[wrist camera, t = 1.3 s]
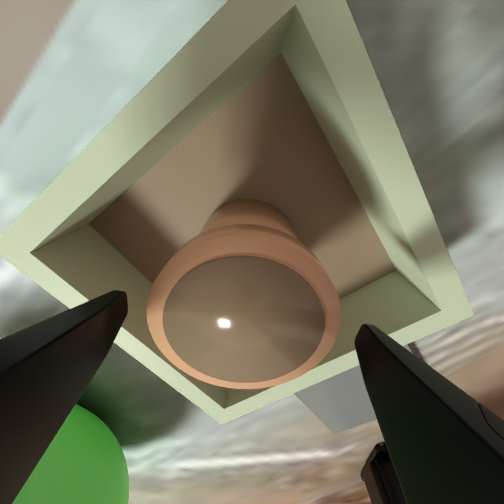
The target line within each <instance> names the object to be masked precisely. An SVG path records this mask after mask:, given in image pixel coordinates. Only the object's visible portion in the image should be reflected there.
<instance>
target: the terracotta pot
mask: <svg viewBox="0 0 504 504" xmlns="http://www.w3.org/2000/svg"><path fill="white" fill-rule="evenodd" d="M146 313H147V322H148V327H149V331H150V333H151V335H152V338H153V340H154V342H155V343H156V345H157V347H158V348H159V350H160V351H161V352H162V353H163V355H164V356H165V357H166V358H167V359H168V360H169V361H170V362H171V363H172V364H174V365H175V366H176V367H178V368H179V369H180V370H182V371H183V372H185V373H187V374H188V375H190V376H192V377H194V378H196V379H198V380H201V381H204V382H206V383H209V384H213V385H216V386H221V387H226V388H234V389H259V388H266V387H272V386H276V385H280V384H283V383H286V382H289V381H291V380H293V379H296V378H298V377H300V376H302V375H303V374H305V373H307V372H308V371H310V370H311V369H312V368H314V367H315V366H316V365H317V364H318V363H319V362H320V361H321V360H323V359H324V357H325V356H326V355H327V354H328V352H329V351H330V350H331V348H332V346H333V345H334V343H335V341H336V338H337V336H338V333H339V329H340V325H341V305H340V300H339V297H338V294H337V291H336V289H335V287H334V285H333V283H332V281H331V279H330V278H329V276H328V274H327V272H326V270H325V269H324V267H323V265H322V263H321V262H320V261H319V259H318V258H317V256H316V255H315V254H314V253H313V252H312V251H311V250H310V249H309V248H308V247H307V246H306V245H304V244H303V243H302V242H300V240H299V238H298V236H297V234H296V232H295V230H294V227H293V225H292V224H291V222H290V220H289V219H288V218H287V216H286V215H285V214H284V213H283V212H281V211H280V210H279V209H278V208H276V207H274V206H273V205H271V204H268V203H266V202H263V201H259V200H253V199H244V200H237V201H233V202H230V203H228V204H225V205H223V206H222V207H220V208H219V209H217V210H216V211H215V212H214V213H213V214H212V215H211V216H210V217H209V218H208V220H207V221H206V223H205V224H204V226H203V227H202V229H201V231H200V232H199V234H198V235H197V236H195V237H193V238H192V239H190V240H189V241H187V242H186V243H185V244H183V245H182V246H181V247H180V248H179V249H178V250H177V251H176V252H175V253H174V254H173V256H172V257H171V258H170V260H169V261H168V263H167V264H166V265H165V267H164V268H163V269H162V271H161V272H160V274H159V275H158V276H157V278H156V279H155V281H154V283H153V285H152V287H151V289H150V293H149V296H148V300H147V309H146Z"/></svg>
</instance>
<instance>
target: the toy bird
mask: <svg viewBox="0 0 504 504" xmlns="http://www.w3.org/2000/svg"><path fill="white" fill-rule="evenodd" d="M128 498H129V477H128V469H127V464H126V460H125V457H124V454H123V451H122V449H121V446H120V444H119V442H118V441H117V439H116V437H115V436H114V434H113V433H112V431H111V430H110V429H109V428H108V427H107V425H106V424H105V423H104V422H103V421H102V420H100V419H99V418H98V417H97V416H96V415H94V414H93V413H91V412H90V411H88V410H87V409H85V408H83V407H81V406H80V405H78V404H75V406H74V408H73V409H72V411H71V412H70V414H69V415H68V417H67V419H66V420H65V422H64V423H63V425H62V426H61V428H60V430H59V431H58V433H57V434H56V436H55V437H54V439H53V441H52V442H51V444H50V445H49V447H48V448H47V450H46V452H45V453H44V455H43V456H42V458H41V459H40V461H39V463H38V464H37V466H36V467H35V469H34V470H33V472H32V474H31V475H30V477H29V478H28V480H27V481H26V483H25V485H24V486H23V488H22V489H21V491H20V492H19V494H18V495H17V497H16V499H15V500H14V502H13V503H12V504H128Z"/></svg>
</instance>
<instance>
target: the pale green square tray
mask: <svg viewBox="0 0 504 504" xmlns="http://www.w3.org/2000/svg"><path fill="white" fill-rule="evenodd" d="M244 199H253V200H259V201H263V202H266V203H268V204H271V205H273V206H274V207H276V208H278V209H279V210H280V211H281V212H283V213H284V214H285V215H286V216H287V218H288V219H289V220H290V222H291V224H292V225H293V227H294V230H295V232H296V234H297V236H298V238H299V240H300V242H302V243H303V244H304V245H306V246H307V247H308V248H309V249H310V250H311V251H312V252H313V253H314V254H315V255H316V256H317V258H318V259H319V261H320V262H321V263H322V265H323V267H324V269H325V270H326V272H327V274H328V276H329V278H330V279H331V281H332V283H333V285H334V287H335V289H336V291H337V294H338V297H339V300H340V305H341V325H340V329H339V333H338V336H337V338H336V341H335V343H334V345H333V346H332V348H331V350H330V351H329V352H328V354H327V355H326V356H325V357H324V359H323V360H321V361H320V362H319V363H318V364H317V365H316V366H315V367H314V368H312V369H311V370H310V371H308V372H307V373H305V374H303V375H302V376H300V377H298V378H296V379H293V380H291V381H289V382H286V383H283V384H280V385H276V386H272V387H266V388H259V389H234V388H226V387H221V386H216V385H213V384H209V383H206V382H204V381H201V380H198V379H196V378H194V377H192V376H190V375H188V374H187V373H185V372H183V371H182V370H180V369H179V368H178V367H176V366H175V365H174V364H172V363H171V362H170V361H169V360H168V359H167V358H166V357H165V356H164V355H163V353H162V352H161V351H160V350H159V348H158V347H157V345H156V343H155V342H154V340H153V338H152V335H151V333H150V331H149V327H148V322H147V313H146V309H147V300H148V296H149V293H150V289H151V287H152V285H153V283H154V281H155V279H156V278H157V276H158V275H159V274H160V272H161V271H162V269H163V268H164V267H165V265H166V264H167V263H168V261H169V260H170V258H171V257H172V256H173V254H174V253H175V252H176V251H177V250H178V249H179V248H180V247H181V246H182V245H183V244H185V243H186V242H187V241H189V240H190V239H192V238H193V237H195V236H197V235H198V234H199V232H200V231H201V229H202V227H203V226H204V224H205V223H206V221H207V220H208V218H209V217H210V216H211V215H212V214H213V213H214V212H215V211H216V210H217V209H219V208H220V207H222V206H223V205H225V204H228V203H230V202H233V201H237V200H244ZM0 256H1V257H3V258H4V259H5V260H7V261H8V262H9V263H11V264H12V265H13V266H14V267H16V268H17V269H18V270H20V271H21V272H22V273H24V274H25V275H26V276H28V277H29V278H30V279H31V280H33V281H34V282H35V283H37V284H38V285H39V286H41V287H42V288H43V289H45V290H46V291H47V292H48V293H50V294H51V295H52V296H54V297H55V298H56V299H58V300H59V301H60V302H62V303H63V304H64V305H66V306H67V307H68V308H69V309H71V308H74V307H76V306H78V305H80V304H83V303H85V302H87V301H90V300H92V299H94V298H97V297H99V296H101V295H103V294H106V293H108V292H110V291H113V290H119V291H125V292H126V293H127V301H128V314H127V316H126V318H125V320H124V322H123V324H122V326H121V328H120V330H119V332H118V334H117V336H116V338H115V340H114V343H115V344H117V345H118V346H119V347H121V348H122V349H123V350H124V351H126V352H127V353H128V354H130V355H131V356H132V357H134V358H135V359H136V360H138V361H139V362H140V363H142V364H143V365H144V366H145V367H147V368H148V369H149V370H151V371H152V372H153V373H155V374H156V375H157V376H159V377H160V378H161V379H162V380H164V381H165V382H166V383H168V384H169V385H170V386H172V387H173V388H174V389H176V390H177V391H178V392H180V393H181V394H182V395H183V396H185V397H186V398H187V399H189V400H190V401H191V402H193V403H194V404H195V405H197V406H198V407H199V408H200V409H202V410H203V411H204V412H206V413H207V414H208V415H210V416H211V417H212V418H214V419H215V420H216V421H218V422H219V423H220V424H224V423H226V422H228V421H231V420H233V419H235V418H238V417H240V416H242V415H245V414H247V413H249V412H252V411H254V410H256V409H258V408H261V407H263V406H265V405H268V404H270V403H272V402H275V401H277V400H279V399H282V398H284V397H286V396H289V395H291V394H293V393H295V392H298V391H300V390H302V389H305V388H307V387H309V386H312V385H314V384H316V383H319V382H321V381H323V380H326V379H328V378H330V377H332V376H335V375H337V374H339V373H342V372H344V371H346V370H349V369H351V368H353V367H356V366H358V365H359V361H358V357H357V353H356V349H355V344H354V341H355V337H356V335H357V333H358V331H359V329H360V327H361V325H362V324H371V325H375V326H376V327H377V328H379V329H380V330H382V331H383V332H384V333H386V334H387V335H388V336H390V337H391V338H392V339H394V340H395V341H396V342H398V343H399V344H400V345H402V346H404V345H406V344H409V343H411V342H413V341H416V340H418V339H420V338H423V337H425V336H427V335H430V334H432V333H434V332H436V331H439V330H441V329H443V328H446V327H448V326H450V325H453V324H455V323H457V322H460V321H462V320H464V319H467V318H469V317H471V316H473V315H474V314H473V311H472V309H471V307H470V304H469V302H468V299H467V297H466V294H465V292H464V289H463V287H462V284H461V282H460V279H459V277H458V275H457V272H456V270H455V267H454V265H453V262H452V260H451V257H450V255H449V252H448V250H447V248H446V245H445V243H444V240H443V238H442V235H441V233H440V230H439V228H438V225H437V223H436V220H435V218H434V216H433V213H432V211H431V208H430V206H429V203H428V201H427V198H426V196H425V193H424V191H423V189H422V186H421V184H420V181H419V179H418V176H417V174H416V171H415V169H414V166H413V164H412V161H411V159H410V157H409V154H408V152H407V149H406V147H405V144H404V142H403V139H402V137H401V134H400V132H399V129H398V127H397V125H396V122H395V120H394V117H393V115H392V112H391V110H390V107H389V105H388V102H387V100H386V98H385V95H384V93H383V90H382V88H381V85H380V83H379V80H378V78H377V75H376V73H375V70H374V68H373V66H372V63H371V61H370V58H369V56H368V53H367V51H366V48H365V46H364V43H363V41H362V39H361V36H360V34H359V31H358V29H357V26H356V24H355V21H354V19H353V16H352V14H351V11H350V9H349V7H348V4H347V2H346V0H228V1H227V2H226V3H225V4H224V6H223V7H222V8H221V9H220V10H219V11H218V12H217V13H216V14H215V15H214V16H213V17H212V18H211V19H210V20H209V21H208V22H207V23H206V24H205V25H204V26H203V27H202V28H201V29H200V30H199V31H198V32H197V33H196V34H195V35H194V36H193V37H192V38H191V39H190V41H189V42H188V43H187V44H186V45H185V46H184V47H183V48H182V49H181V50H180V51H179V52H178V53H177V54H176V55H175V56H174V57H173V58H172V59H171V60H170V61H169V62H168V63H167V64H166V65H165V66H164V67H163V68H162V69H161V70H160V71H159V72H158V73H157V75H156V76H155V77H154V78H153V79H152V80H151V81H150V82H149V83H148V84H147V85H146V86H145V87H144V88H143V89H142V90H141V91H140V92H139V93H138V94H137V95H136V96H135V97H134V98H133V99H132V100H131V101H130V102H129V103H128V104H127V105H126V106H125V107H124V108H123V110H122V111H121V112H120V113H119V114H118V115H117V116H116V117H115V118H114V119H113V120H112V121H111V122H110V123H109V124H108V125H107V126H106V127H105V128H104V129H103V130H102V131H101V132H100V133H99V134H98V135H97V136H96V137H95V138H94V139H93V140H92V141H91V142H90V143H89V145H88V146H87V147H86V148H85V149H84V150H83V151H82V152H81V153H80V154H79V155H78V156H77V157H76V158H75V159H74V160H73V161H72V162H71V163H70V164H69V165H68V166H67V167H66V168H65V169H64V170H63V171H62V172H61V173H60V174H59V175H58V176H57V177H56V178H55V180H54V181H53V182H52V183H51V184H50V185H49V186H48V187H47V188H46V189H45V190H44V191H43V192H42V193H41V194H40V195H39V196H38V197H37V198H36V199H35V200H34V201H33V202H32V203H31V204H30V205H29V206H28V207H27V208H26V209H25V210H24V211H23V212H22V214H21V215H20V216H19V217H18V218H17V219H16V220H15V221H14V222H13V223H12V224H11V225H10V226H9V227H8V228H7V229H6V230H5V231H4V232H3V233H2V234H1V235H0Z"/></svg>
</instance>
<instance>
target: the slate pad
mask: <svg viewBox="0 0 504 504" xmlns="http://www.w3.org/2000/svg"><path fill="white" fill-rule="evenodd" d="M403 347H404V348H406V349H407V350H409V351H410V352H411V353H412V351H411V350H410V348H409V346H408V345H407V344H406V345H404V346H403ZM294 394H295V395H296V396H297V397H298V398H299V399H300V400H301V401H302V402H303V403H304V404H305V405H306V406H307V407H308V408H309V409H310V410H311V411H312V412H313V413H314V414H315V415H316V416H317V417H318V418H319V419H320V420H321V421H322V422H323V423H324V424H325V425H326V426H327V427H328V428H329V429H330V430H331V431H332V432H333V433H334V434H336V433H339V432H342V431H345V430H347V429H350V428H353V427H356V426H359V425H361V424H364V423H367V422H370V421H372V420H375V419H377V418H376V415H375V412H374V409H373V407H372V404H371V401H370V398H369V396H368V393H367V390H366V387H365V384H364V380H363V377H362V373H361V369H360V365H358V366H356V367H353V368H351V369H349V370H346V371H344V372H342V373H339V374H337V375H335V376H332V377H330V378H328V379H326V380H323V381H321V382H319V383H316V384H314V385H312V386H309V387H307V388H305V389H302V390H300V391H298V392H295V393H294Z"/></svg>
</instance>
